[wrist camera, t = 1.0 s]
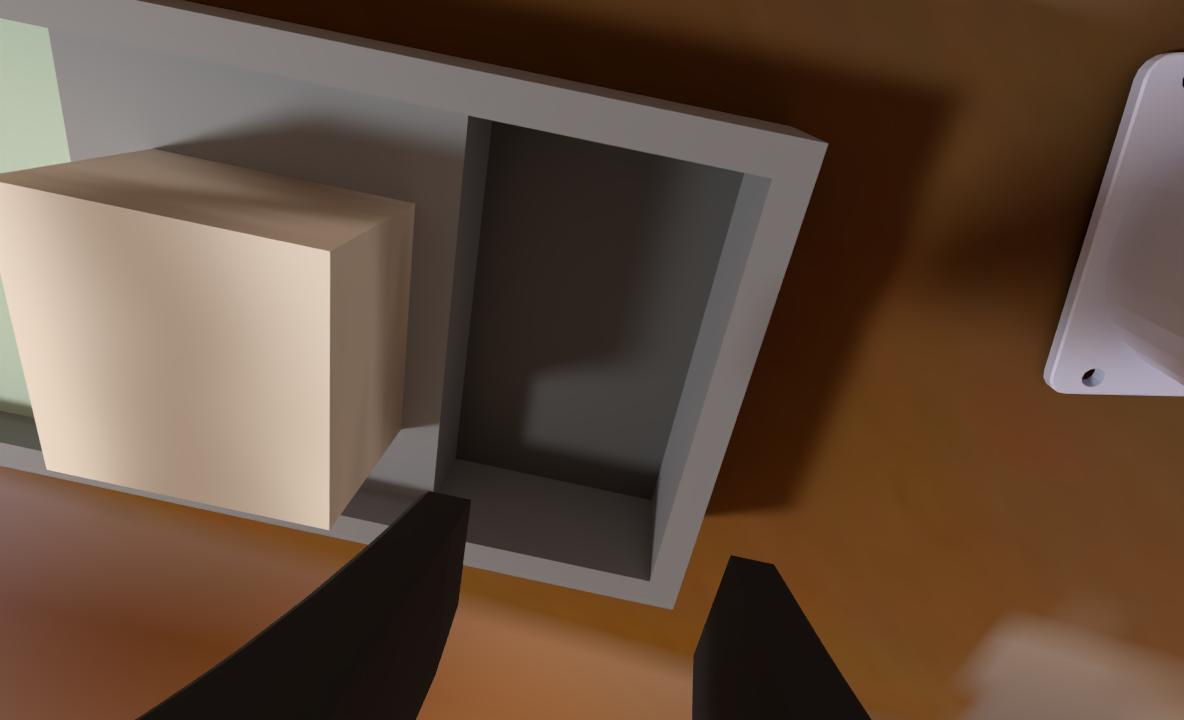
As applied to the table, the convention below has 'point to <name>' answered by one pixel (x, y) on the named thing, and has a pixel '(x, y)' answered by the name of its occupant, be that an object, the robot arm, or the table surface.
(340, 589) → the robot arm
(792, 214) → the gray tray
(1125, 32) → the table surface
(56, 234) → the cream block
